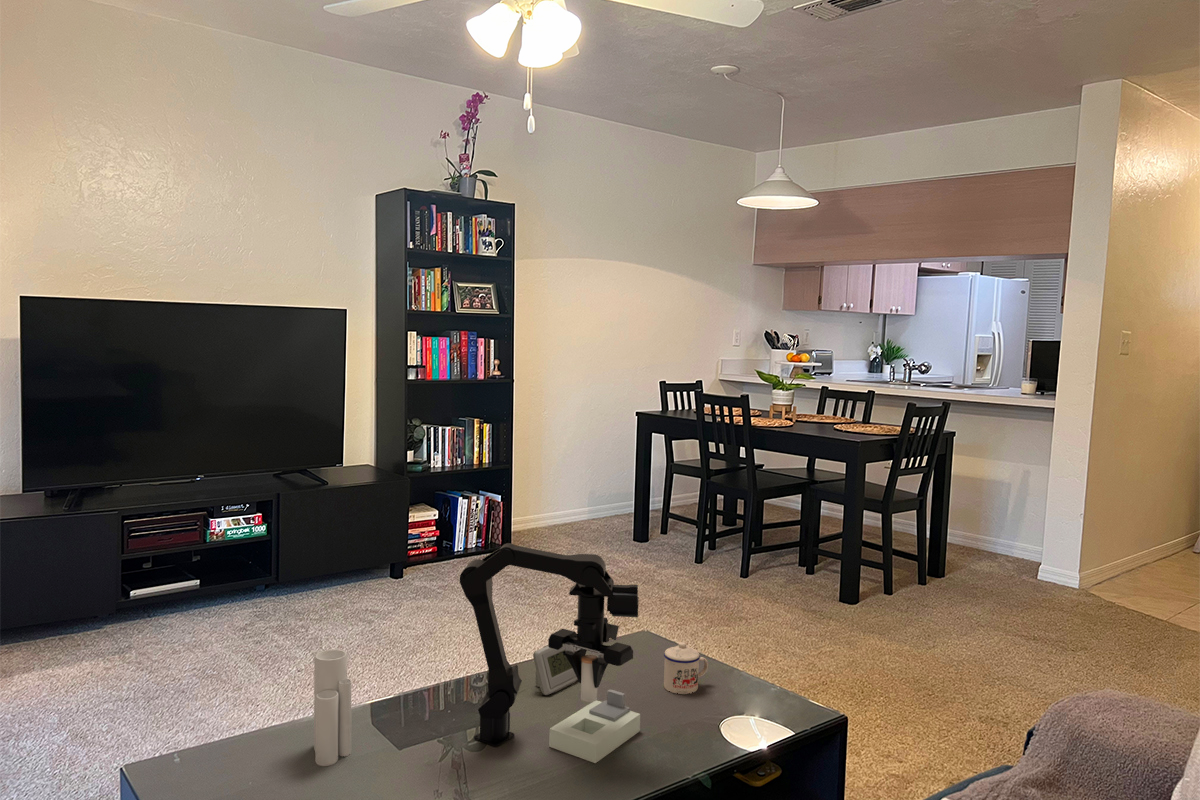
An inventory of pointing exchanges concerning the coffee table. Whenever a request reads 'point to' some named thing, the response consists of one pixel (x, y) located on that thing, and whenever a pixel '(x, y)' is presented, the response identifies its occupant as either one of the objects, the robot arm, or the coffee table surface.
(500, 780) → the coffee table surface
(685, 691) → the teacup with lid
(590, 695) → the plug
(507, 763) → the coffee table surface
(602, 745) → the socket block
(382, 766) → the coffee table surface
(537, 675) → the digital clock
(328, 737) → the vase
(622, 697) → the shutter
